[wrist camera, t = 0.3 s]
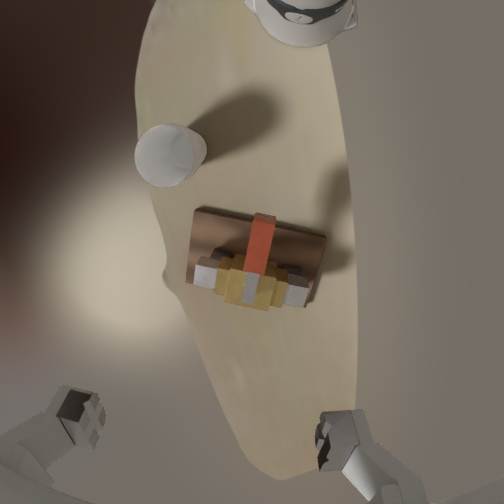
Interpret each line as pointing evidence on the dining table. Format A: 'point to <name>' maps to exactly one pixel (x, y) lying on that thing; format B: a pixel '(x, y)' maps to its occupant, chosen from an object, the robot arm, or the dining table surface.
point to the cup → (169, 154)
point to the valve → (233, 278)
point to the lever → (257, 253)
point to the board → (237, 238)
